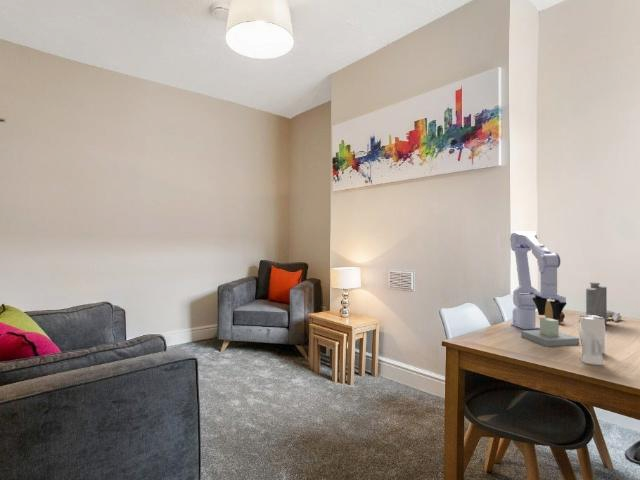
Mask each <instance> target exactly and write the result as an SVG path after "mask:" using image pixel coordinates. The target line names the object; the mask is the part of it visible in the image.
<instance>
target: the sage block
mask: <svg viewBox="0 0 640 480" xmlns="http://www.w3.org/2000/svg"><path fill="white" fill-rule="evenodd" d="M559 323H560V322H559V321H558V320H555V319H551V318H546V317H544V318H539V327H540V329H539V330H540V333H541V334H544V335H547V336H559V332H560V331H559V328H560V325H559Z"/></svg>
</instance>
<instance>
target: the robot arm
mask: <svg viewBox="0 0 640 480" xmlns="http://www.w3.org/2000/svg"><path fill="white" fill-rule="evenodd" d="M509 241H510V242H509V243H510V248H511V251H512V252H514V255H515V263H516V271H517V279H518V287H517V288H515V289H514V290H513V292H512V293H513V295H512V302H513V305H514V306H515V307H514V308H513V310H512V322H511V323H510V325H511V326H513V327H514V326H515V327H517V328H520V329H523V330H540V326H537V325H536V324H537V323H536V322H537V321H536V318H537V317H536V309H537V312H538V315H539V316H544V315H545V306H546V302H547V301H548V300H549V301H550V304H551V306H552V311H553V319H555V320H556V319H560V315H561V312H563V309H564V308H565V307H566V305H567V298H566V296H562V295H560V294H558V268H560V266H561V257H560V255H559V254H558V253H557V252H556V253H555V252H554V253H553V252H552V251H551V250H549V248H547V246H546V245H545V244H544V243H540V242H539V241H538V234H537V232H535V231H513V232H512V233H511V234H510V237H509ZM530 251H531V254H532V256H534V257H535V258H536V260H537V265H538V271H539V273H540V277H539V278H540V291H538V290H537V289H536V288H534V287H533V286H532V282H531V273H530V266H529V258H528V252H530Z"/></svg>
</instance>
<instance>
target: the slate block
mask: <svg viewBox="0 0 640 480" xmlns="http://www.w3.org/2000/svg"><path fill="white" fill-rule="evenodd" d="M520 334H521V335H520V336H522V337H521V338H525V339H526V338H527V339H526V340H529V341H532V342H534V343H537V344H539V345H542V346H544V347H558V346H574V345H575V346H577V345H580V337H577V336H574V335H570V334H567V333H565V332H564V333H563V332H561V331H559V336H547V335H544V334H541V333H540V329H526V330H521V331H520Z"/></svg>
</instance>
